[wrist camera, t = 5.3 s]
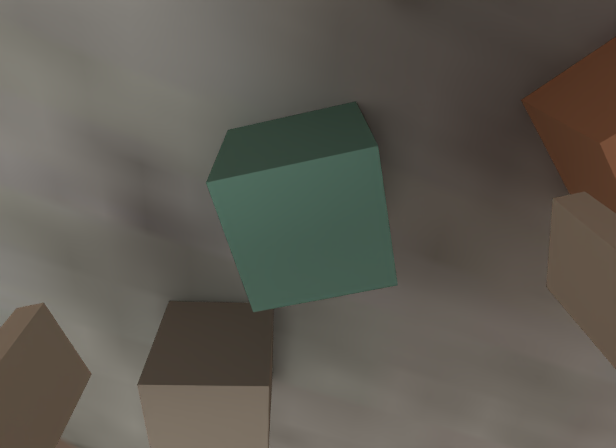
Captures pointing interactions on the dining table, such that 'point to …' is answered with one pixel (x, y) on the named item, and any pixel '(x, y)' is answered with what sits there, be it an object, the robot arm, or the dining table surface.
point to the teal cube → (304, 207)
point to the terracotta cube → (581, 124)
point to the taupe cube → (209, 377)
